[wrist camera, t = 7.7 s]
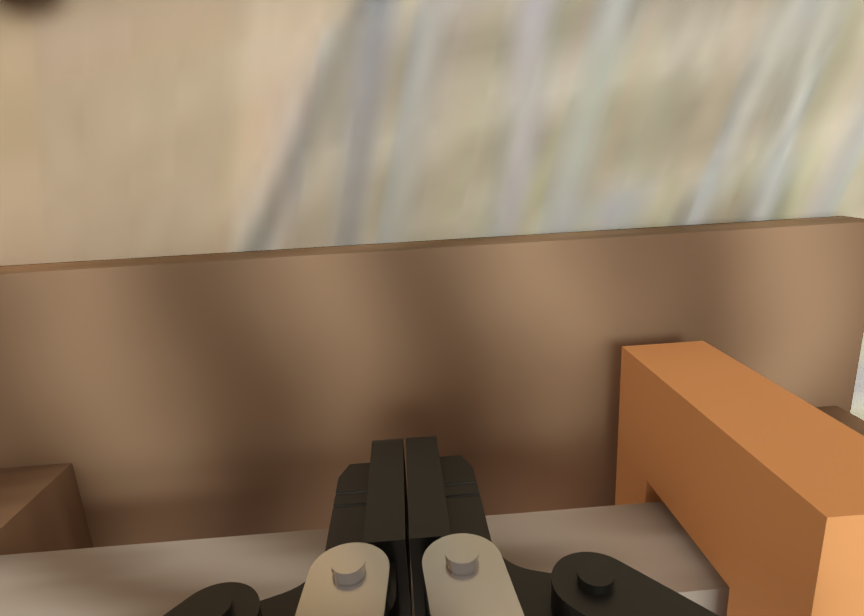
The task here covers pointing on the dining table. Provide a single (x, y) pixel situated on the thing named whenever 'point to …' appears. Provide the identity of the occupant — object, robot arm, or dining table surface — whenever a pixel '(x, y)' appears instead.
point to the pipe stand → (376, 395)
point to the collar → (746, 478)
